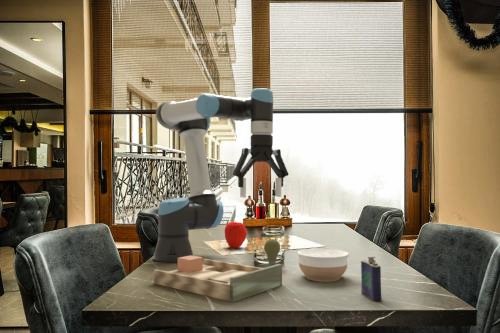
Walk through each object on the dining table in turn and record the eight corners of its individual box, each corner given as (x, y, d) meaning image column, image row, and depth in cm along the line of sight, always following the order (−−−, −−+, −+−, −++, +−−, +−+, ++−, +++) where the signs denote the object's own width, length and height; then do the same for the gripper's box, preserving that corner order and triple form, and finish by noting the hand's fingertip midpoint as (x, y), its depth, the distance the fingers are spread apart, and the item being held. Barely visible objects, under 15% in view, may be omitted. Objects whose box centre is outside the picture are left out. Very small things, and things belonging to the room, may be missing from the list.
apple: (250, 247, 195) (250, 220, 195) (238, 250, 186) (238, 222, 187) (232, 245, 200) (232, 219, 200) (220, 248, 192) (220, 220, 192)
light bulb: (282, 266, 152) (281, 238, 152) (277, 269, 147) (277, 240, 147) (266, 265, 154) (266, 237, 154) (262, 268, 149) (262, 239, 149)
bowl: (317, 286, 125) (317, 258, 125) (287, 275, 139) (287, 250, 140) (359, 280, 133) (359, 254, 133) (327, 270, 147) (327, 246, 147)
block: (177, 270, 134) (177, 257, 134) (190, 267, 138) (190, 255, 139) (189, 273, 131) (189, 260, 131) (202, 270, 135) (202, 257, 135)
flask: (359, 292, 118) (359, 253, 118) (369, 292, 118) (369, 253, 119) (373, 302, 109) (373, 260, 109) (384, 302, 109) (384, 259, 109)
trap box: (153, 283, 128) (153, 263, 128) (205, 270, 146) (205, 252, 146) (233, 302, 109) (233, 278, 109) (281, 284, 126) (281, 264, 126)
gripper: (232, 131, 138) (232, 198, 137) (298, 135, 149) (297, 196, 149) (223, 133, 144) (222, 196, 144) (287, 137, 155) (286, 195, 155)
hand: (261, 197), depth 146 cm, fingers open, 13 cm apart
